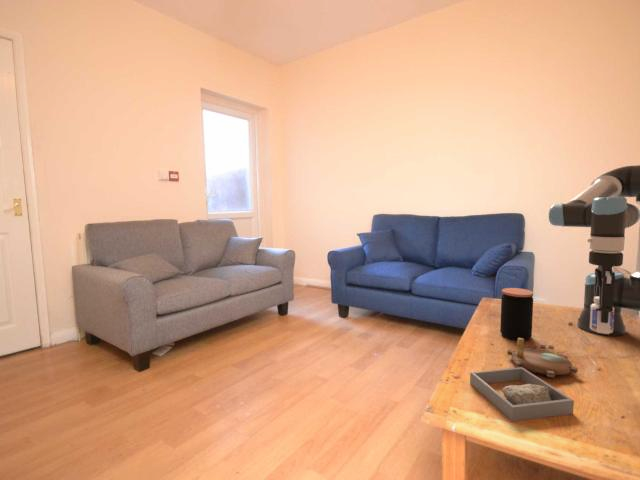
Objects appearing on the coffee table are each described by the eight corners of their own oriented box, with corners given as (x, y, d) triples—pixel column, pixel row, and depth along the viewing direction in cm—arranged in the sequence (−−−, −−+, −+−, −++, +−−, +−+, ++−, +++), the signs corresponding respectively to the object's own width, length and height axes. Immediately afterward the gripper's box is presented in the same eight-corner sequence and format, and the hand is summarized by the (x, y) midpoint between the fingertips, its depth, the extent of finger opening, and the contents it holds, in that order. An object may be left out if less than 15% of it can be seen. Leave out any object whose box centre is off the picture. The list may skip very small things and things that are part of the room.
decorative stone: (541, 423, 82) (542, 403, 81) (495, 403, 90) (496, 385, 90) (560, 404, 89) (561, 386, 89) (516, 387, 98) (517, 370, 97)
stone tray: (521, 378, 102) (522, 367, 102) (573, 413, 85) (573, 400, 85) (470, 383, 100) (470, 372, 100) (512, 421, 83) (512, 407, 82)
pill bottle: (617, 334, 97) (619, 301, 96) (595, 333, 99) (598, 300, 97) (605, 327, 103) (607, 295, 102) (585, 326, 104) (587, 295, 103)
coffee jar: (529, 333, 137) (531, 289, 135) (533, 343, 127) (535, 296, 125) (499, 329, 141) (501, 286, 139) (500, 339, 131) (502, 293, 129)
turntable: (503, 347, 120) (504, 327, 119) (560, 352, 115) (561, 332, 114) (517, 373, 102) (518, 350, 101) (585, 380, 97) (587, 356, 97)
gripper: (585, 246, 108) (580, 318, 110) (594, 254, 92) (589, 337, 95) (616, 247, 104) (611, 321, 107) (631, 256, 88) (625, 343, 91)
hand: (600, 329), depth 101 cm, fingers closed on pill bottle, 5 cm apart
